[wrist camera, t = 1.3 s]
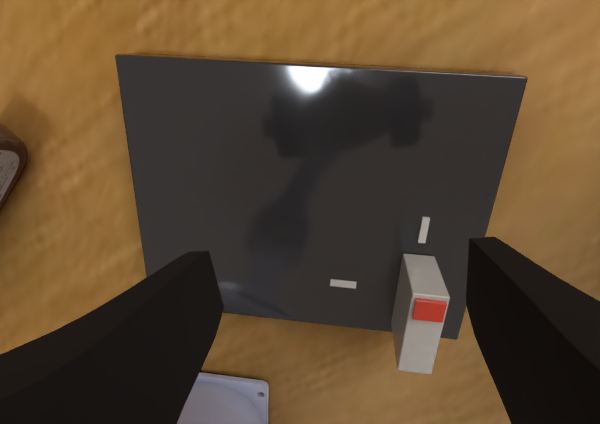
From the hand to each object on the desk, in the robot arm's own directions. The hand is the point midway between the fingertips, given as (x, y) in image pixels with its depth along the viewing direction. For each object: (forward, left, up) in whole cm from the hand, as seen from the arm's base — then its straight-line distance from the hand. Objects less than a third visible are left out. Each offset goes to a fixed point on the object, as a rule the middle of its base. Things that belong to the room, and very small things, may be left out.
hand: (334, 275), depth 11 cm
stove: (-2, +2, -11) cm, 11 cm away
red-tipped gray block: (-6, -4, -9) cm, 11 cm away
